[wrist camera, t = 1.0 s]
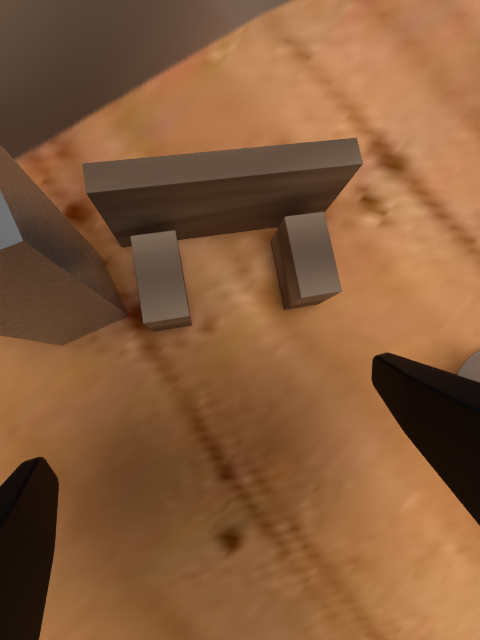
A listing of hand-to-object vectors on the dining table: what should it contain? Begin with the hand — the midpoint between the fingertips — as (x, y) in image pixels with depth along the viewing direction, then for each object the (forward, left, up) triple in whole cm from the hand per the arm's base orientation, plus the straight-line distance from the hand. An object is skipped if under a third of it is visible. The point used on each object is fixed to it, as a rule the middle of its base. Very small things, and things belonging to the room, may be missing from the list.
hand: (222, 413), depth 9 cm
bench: (+8, +3, -13) cm, 16 cm away
